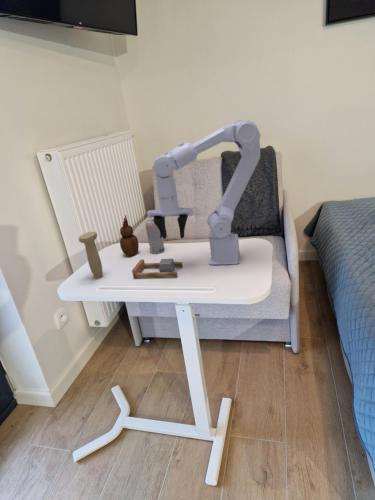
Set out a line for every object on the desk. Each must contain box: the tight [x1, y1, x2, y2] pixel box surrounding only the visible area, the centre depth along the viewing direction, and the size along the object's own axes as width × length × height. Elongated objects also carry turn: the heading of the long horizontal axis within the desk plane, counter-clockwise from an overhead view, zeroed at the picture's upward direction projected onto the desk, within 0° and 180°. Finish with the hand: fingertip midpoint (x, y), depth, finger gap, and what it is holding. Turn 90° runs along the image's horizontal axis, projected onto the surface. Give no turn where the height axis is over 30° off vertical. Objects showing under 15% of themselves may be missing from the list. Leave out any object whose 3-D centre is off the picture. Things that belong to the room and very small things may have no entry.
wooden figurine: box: [119, 214, 140, 257], centre depth 122 cm, size 7×6×15 cm
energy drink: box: [145, 218, 165, 254], centre depth 122 cm, size 5×5×12 cm
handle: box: [78, 231, 104, 279], centre depth 108 cm, size 5×6×15 cm
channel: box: [131, 259, 183, 280], centre depth 107 cm, size 14×8×3 cm, turn 78°
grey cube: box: [158, 258, 176, 272], centre depth 106 cm, size 4×4×4 cm
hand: (173, 237), depth 105 cm, fingers open, 5 cm apart
